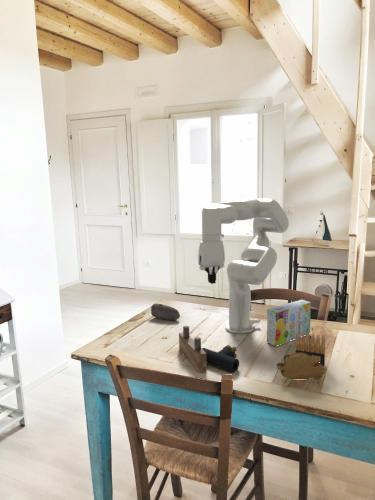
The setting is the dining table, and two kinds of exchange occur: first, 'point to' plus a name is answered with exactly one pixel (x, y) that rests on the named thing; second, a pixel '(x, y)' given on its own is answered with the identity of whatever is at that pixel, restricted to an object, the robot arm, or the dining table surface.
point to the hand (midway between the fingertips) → (212, 282)
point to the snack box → (288, 321)
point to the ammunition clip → (311, 347)
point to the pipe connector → (223, 358)
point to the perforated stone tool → (164, 312)
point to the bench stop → (192, 350)
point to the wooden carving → (300, 366)
